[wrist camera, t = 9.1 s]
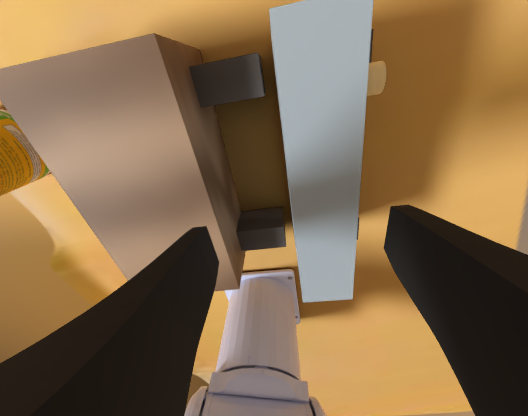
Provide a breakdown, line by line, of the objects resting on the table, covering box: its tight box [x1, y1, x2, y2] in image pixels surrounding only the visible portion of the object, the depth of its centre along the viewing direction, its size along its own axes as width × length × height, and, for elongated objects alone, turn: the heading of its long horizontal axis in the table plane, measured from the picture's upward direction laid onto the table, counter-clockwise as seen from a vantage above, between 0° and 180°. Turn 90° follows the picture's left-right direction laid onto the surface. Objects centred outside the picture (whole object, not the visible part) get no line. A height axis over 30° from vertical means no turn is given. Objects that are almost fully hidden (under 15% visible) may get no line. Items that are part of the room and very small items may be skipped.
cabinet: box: [0, 29, 373, 291], centre depth 15 cm, size 15×17×6 cm
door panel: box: [269, 0, 387, 303], centre depth 13 cm, size 14×4×8 cm, turn 9°
